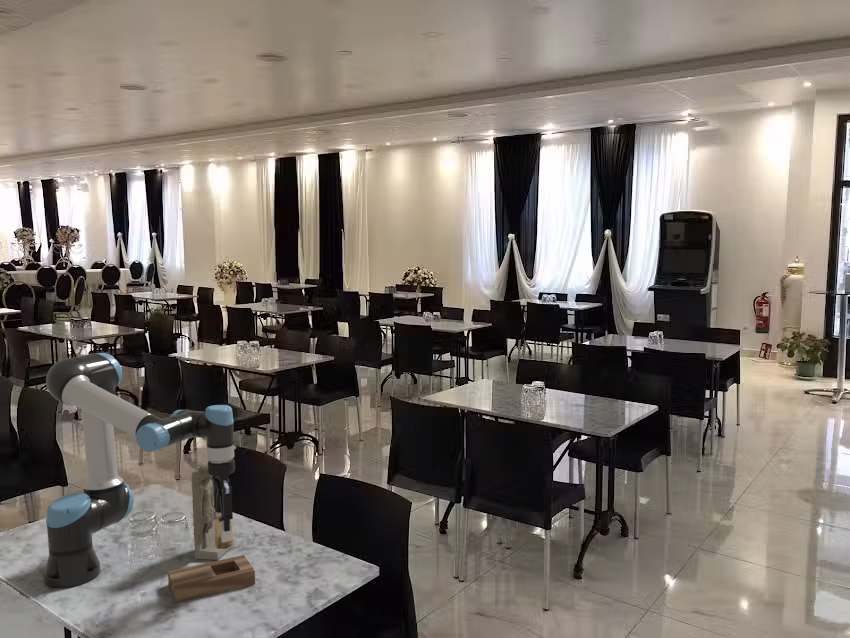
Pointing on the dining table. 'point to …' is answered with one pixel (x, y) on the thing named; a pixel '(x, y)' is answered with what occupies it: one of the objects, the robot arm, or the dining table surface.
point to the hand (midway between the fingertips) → (224, 537)
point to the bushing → (218, 535)
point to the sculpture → (204, 515)
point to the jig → (210, 578)
